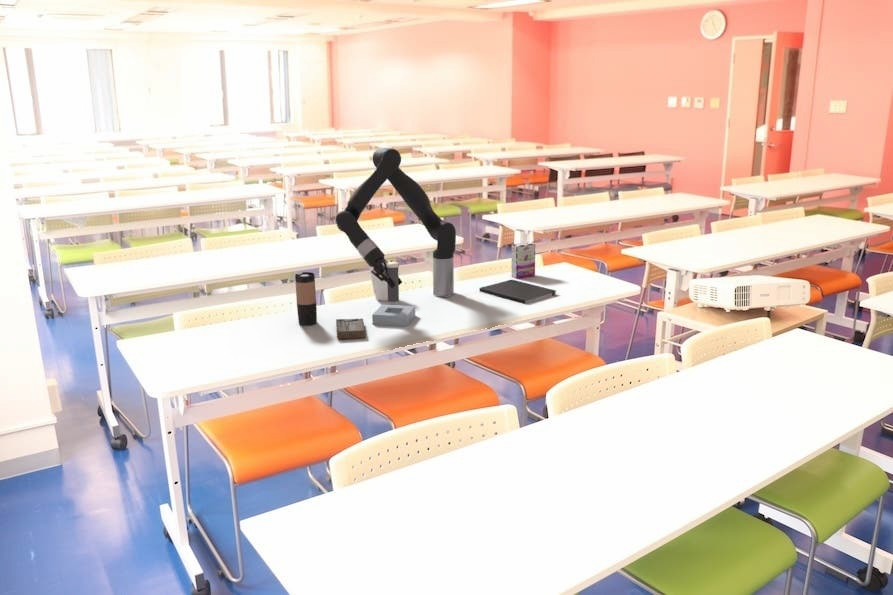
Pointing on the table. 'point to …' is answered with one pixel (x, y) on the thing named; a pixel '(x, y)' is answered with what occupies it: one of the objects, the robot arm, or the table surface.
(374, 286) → the cup
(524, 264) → the candy bar box
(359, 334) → the box
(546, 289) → the notebook
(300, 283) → the travel mug
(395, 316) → the socket
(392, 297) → the plug
